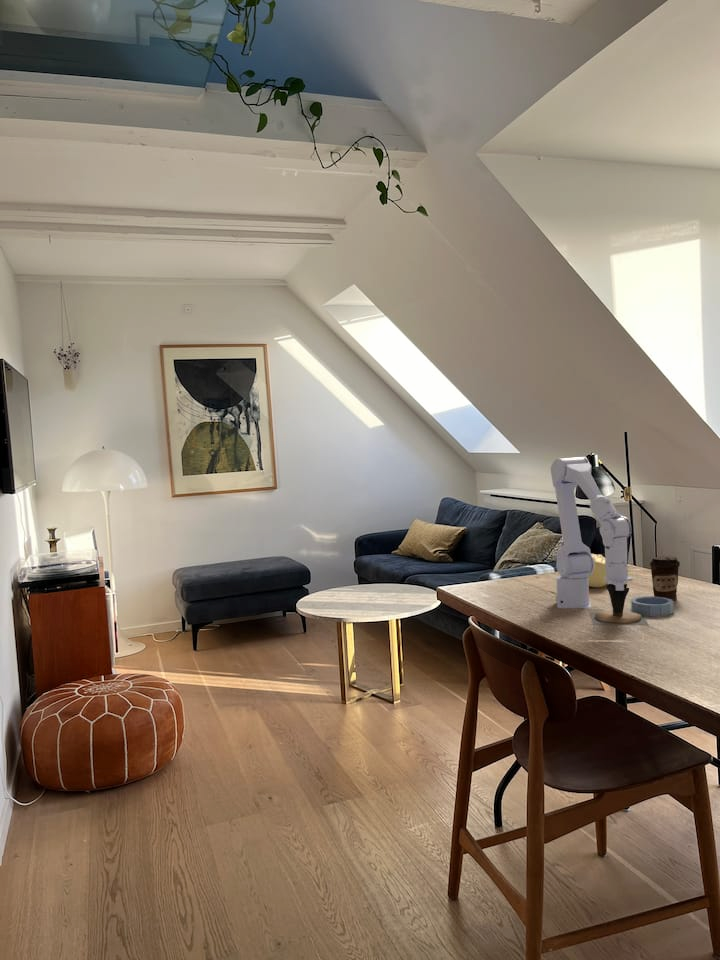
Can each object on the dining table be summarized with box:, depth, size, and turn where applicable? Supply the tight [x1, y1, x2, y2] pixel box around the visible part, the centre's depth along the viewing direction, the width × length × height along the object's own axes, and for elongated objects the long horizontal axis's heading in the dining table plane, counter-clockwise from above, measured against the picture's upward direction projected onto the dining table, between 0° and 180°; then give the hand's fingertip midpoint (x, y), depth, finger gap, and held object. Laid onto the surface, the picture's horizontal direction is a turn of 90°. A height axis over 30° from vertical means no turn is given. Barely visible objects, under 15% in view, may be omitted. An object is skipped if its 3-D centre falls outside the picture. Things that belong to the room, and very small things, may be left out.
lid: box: [595, 609, 641, 624], centre depth 209 cm, size 12×12×6 cm
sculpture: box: [588, 553, 609, 588], centre depth 254 cm, size 12×12×11 cm
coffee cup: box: [649, 556, 681, 602], centre depth 228 cm, size 9×8×13 cm
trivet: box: [588, 611, 650, 626], centre depth 210 cm, size 14×14×1 cm
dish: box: [630, 595, 675, 617], centre depth 215 cm, size 11×11×4 cm
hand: (617, 611), depth 209 cm, fingers closed on lid, 3 cm apart
